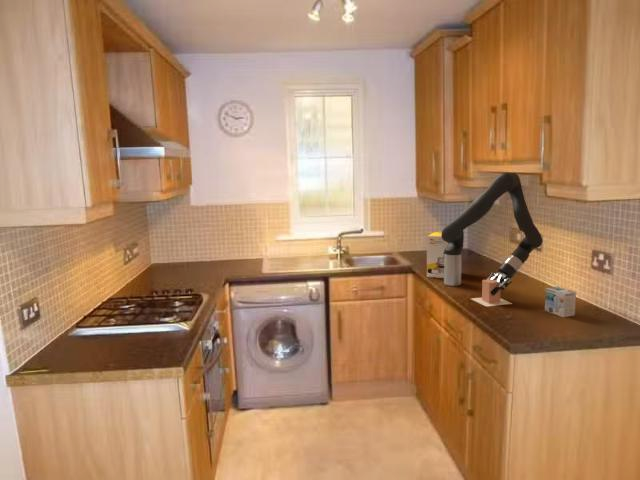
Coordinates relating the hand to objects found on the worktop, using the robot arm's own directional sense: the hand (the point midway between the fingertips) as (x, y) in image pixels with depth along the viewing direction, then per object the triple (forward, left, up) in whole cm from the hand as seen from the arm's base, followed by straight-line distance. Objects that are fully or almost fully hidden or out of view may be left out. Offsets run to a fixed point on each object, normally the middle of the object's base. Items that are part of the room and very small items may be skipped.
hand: (488, 292), depth 225 cm
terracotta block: (0, +2, -4) cm, 5 cm away
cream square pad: (0, +2, -5) cm, 5 cm away
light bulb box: (+21, +24, -5) cm, 32 cm away
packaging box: (-59, -2, -5) cm, 60 cm away
